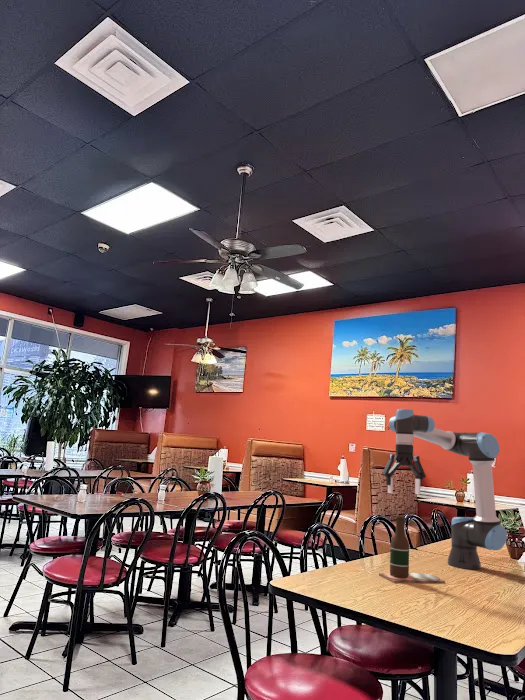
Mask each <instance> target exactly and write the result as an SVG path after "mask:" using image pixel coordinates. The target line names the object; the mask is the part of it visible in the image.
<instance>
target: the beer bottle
mask: <svg viewBox="0 0 525 700" xmlns="http://www.w3.org/2000/svg"><path fill="white" fill-rule="evenodd" d="M395 519H396V523H395V533H394V536H393V538H391V541H390V552H389V554H390V556H389V573H390V575H391V576H393V577H397V578H407V577H408V575H409V574H410V573H409V572H410V545H409V541H408V539H407V537H406V533H405V532H406V531H405V530H406V529H405V516H403V515H396V517H395Z"/></svg>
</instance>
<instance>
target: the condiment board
mask: <svg viewBox="0 0 525 700" xmlns="http://www.w3.org/2000/svg"><path fill="white" fill-rule="evenodd" d="M378 576H380V577H381V578H383V579H385V580H387V581H389V582H391V583H393V584H446V580H443V579H441V578H440V577H438V576H437V575H434V574H431V573H424V572H412V573H411V572H410V573H409V575H408V577H407V578H397V577H393V576H391V575H390V572H385V573H380V572H379V573H378Z"/></svg>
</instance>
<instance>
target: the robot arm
mask: <svg viewBox="0 0 525 700" xmlns="http://www.w3.org/2000/svg"><path fill="white" fill-rule="evenodd" d="M395 413H396V414H395V416H394V415H393V416H391V418H389V421H388V428H389V429H390V431H391V432H394V433H395V443H396V444H395V454H389V456H388V460H387V462H386V465H385V467H384V469H383V471H382V473H381V475H382V476H384V477H386V478H385V479H386V481H385V482H386V483H385V484H386V485H387V494H393V491H394V489H393V488H394V487H393V486H394V478H393V476H394V474H395V472H396V471H397V470H398V468H399V467H401V466H406V467H409V469H410V470H411V472H412V473H413V474H414V476H415V477H416V478H415V479H414V484H415V485H414V495H419V496H420V495H421V488H422V484H423V483H422V481H423V479H424V478H426V476H427V475H426V474H425V470H424V469H423V466H422V463H421V461H420V456H419V455H414V445H413V444H414V438H418V439H420V440H424V441H426V442H428V443H432V444H435V445H437V446H440V447H441V448H442V449H444V450H446V451H449V452H451V453H453V454H456V455H460V456H463V457H467V458H468V461H469V462H470V463H471V465H472V475H473V487H474V488H473V489H474V500H475V501H474V502H475V513H476V514H475V516H473V517H472V516H471V517H469V516H467V517H465V516H454V517H452V519H451V524H450V525H451V526H450V528H451V530H450V531H451V533H450V534H451V540H450V541H451V548H450V551H449V554H448V558H447V564H448V565H449V566H452V567H455V568H459V569H460V568H461V569H466V570H467V569H468V570H481V569H482V566H481V565H482V564H481V560H480V556H479V554H478V548H482V549H486V550H489V551H500V550H502V548H504V546H505V544H506V543H507V539H508V532H507V529H506V528H505V527H504V526H503V525H502V524H501V520H500V519H499V518H498V517H497V512H496V511H497V510H496V500H495V499H496V497H495V488H494V477H493V476H494V475H493V464H494V463H495V461H496V459H495V458H496V457H497V456H499V453H500V444H499V442H498V440H497V438H496V436H494V435H493V434H491V433H488V432H483V431H481V432H458V431H457V432H455V431H451V430H446V431H445V430H442V429H439V428H436V427H435V425H436V423H435V420H434V418H432V417H431V416H428V415H421V414H420V415H419V414H415V413H414V410H413V409H411V408H398V409H397V410H396V412H395ZM394 461H395V462H394ZM413 462H414V463H413ZM392 465H393V466H392Z"/></svg>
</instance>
